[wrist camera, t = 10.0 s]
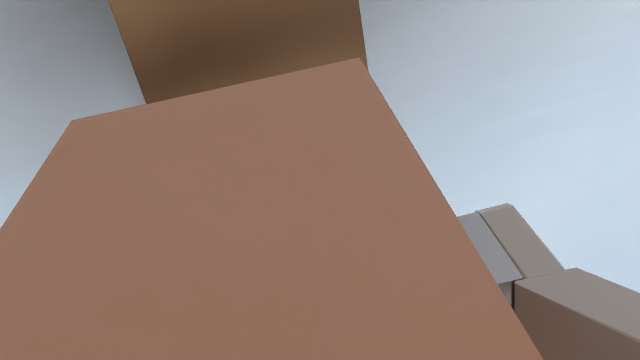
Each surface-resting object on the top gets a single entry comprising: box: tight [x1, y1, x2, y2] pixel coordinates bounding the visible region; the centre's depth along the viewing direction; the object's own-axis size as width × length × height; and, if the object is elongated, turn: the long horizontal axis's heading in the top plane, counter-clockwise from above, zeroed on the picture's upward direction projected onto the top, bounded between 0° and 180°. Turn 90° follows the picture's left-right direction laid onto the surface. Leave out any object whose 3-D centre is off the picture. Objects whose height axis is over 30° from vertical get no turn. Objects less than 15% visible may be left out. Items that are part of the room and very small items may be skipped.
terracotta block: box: [0, 58, 543, 360], centre depth 8 cm, size 5×5×7 cm
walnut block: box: [108, 0, 368, 104], centre depth 22 cm, size 8×8×6 cm
